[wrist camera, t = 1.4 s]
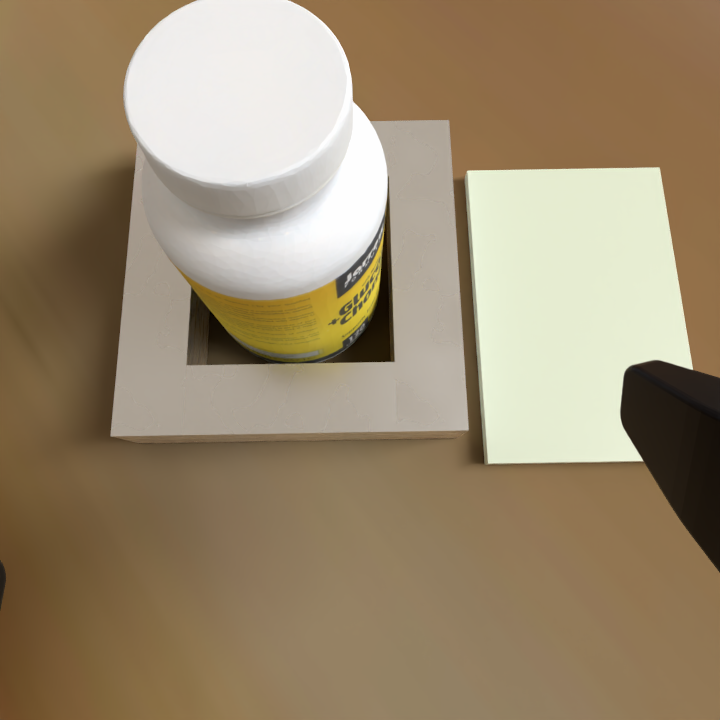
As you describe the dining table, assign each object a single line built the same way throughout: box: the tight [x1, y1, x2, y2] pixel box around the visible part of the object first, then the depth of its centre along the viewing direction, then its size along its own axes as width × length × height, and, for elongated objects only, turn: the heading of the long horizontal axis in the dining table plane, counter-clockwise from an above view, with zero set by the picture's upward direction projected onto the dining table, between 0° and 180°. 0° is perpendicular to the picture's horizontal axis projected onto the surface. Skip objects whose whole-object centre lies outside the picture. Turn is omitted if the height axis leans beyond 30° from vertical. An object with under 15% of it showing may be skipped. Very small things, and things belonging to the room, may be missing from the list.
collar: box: [111, 120, 469, 443], centre depth 21 cm, size 12×12×2 cm
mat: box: [465, 168, 693, 464], centre depth 22 cm, size 12×8×1 cm, turn 1°
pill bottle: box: [123, 0, 388, 364], centre depth 17 cm, size 6×6×12 cm
